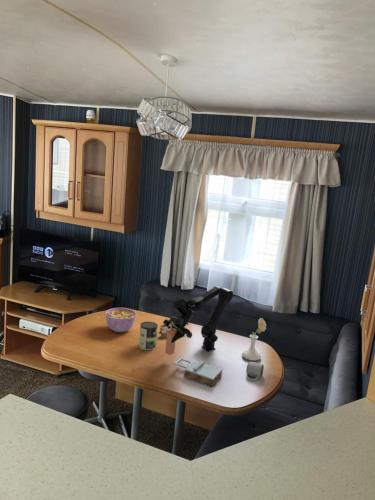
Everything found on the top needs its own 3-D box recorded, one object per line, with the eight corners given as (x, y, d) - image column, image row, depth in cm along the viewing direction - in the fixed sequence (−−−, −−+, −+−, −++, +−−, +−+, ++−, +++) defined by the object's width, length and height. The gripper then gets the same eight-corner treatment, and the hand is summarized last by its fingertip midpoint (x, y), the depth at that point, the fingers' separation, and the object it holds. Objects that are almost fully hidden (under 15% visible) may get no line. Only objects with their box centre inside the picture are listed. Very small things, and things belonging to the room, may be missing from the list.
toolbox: (184, 377, 208) (185, 370, 207) (194, 367, 219) (195, 361, 218) (212, 387, 201) (212, 380, 200) (221, 377, 212) (221, 370, 211)
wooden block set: (183, 325, 263) (163, 331, 250) (183, 333, 264) (163, 339, 251) (166, 316, 274) (146, 322, 261) (166, 324, 275) (145, 330, 262)
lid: (171, 365, 211) (172, 361, 211) (182, 357, 221) (182, 353, 221) (212, 380, 201) (213, 375, 200) (221, 370, 211) (222, 366, 210)
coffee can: (157, 344, 243) (159, 322, 240) (153, 351, 233) (154, 329, 230) (141, 341, 245) (143, 320, 242) (136, 348, 235) (138, 326, 232)
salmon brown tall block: (169, 350, 225) (171, 327, 222) (175, 353, 222) (177, 330, 220) (164, 352, 222) (166, 329, 219) (169, 355, 219) (171, 332, 216)
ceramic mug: (248, 370, 221) (250, 358, 220) (262, 375, 218) (264, 362, 217) (243, 379, 212) (244, 366, 210) (258, 384, 209) (260, 370, 207)
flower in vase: (248, 363, 230) (254, 323, 224) (237, 354, 239) (242, 315, 234) (266, 360, 236) (272, 321, 230) (255, 351, 245) (260, 313, 240)
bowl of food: (110, 322, 269) (111, 305, 267) (138, 326, 267) (139, 310, 265) (99, 333, 250) (100, 316, 248) (130, 338, 248) (131, 321, 245)
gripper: (166, 305, 226) (150, 328, 220) (190, 316, 214) (174, 340, 208) (175, 315, 234) (160, 338, 228) (198, 326, 221) (183, 350, 216)
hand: (169, 341), depth 220 cm, fingers closed on salmon brown tall block, 3 cm apart
